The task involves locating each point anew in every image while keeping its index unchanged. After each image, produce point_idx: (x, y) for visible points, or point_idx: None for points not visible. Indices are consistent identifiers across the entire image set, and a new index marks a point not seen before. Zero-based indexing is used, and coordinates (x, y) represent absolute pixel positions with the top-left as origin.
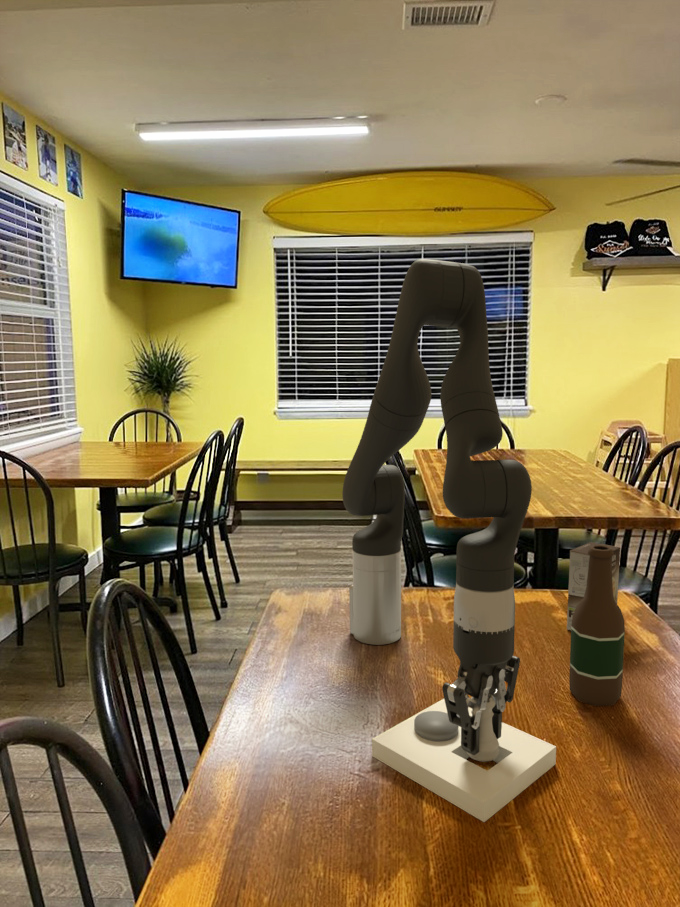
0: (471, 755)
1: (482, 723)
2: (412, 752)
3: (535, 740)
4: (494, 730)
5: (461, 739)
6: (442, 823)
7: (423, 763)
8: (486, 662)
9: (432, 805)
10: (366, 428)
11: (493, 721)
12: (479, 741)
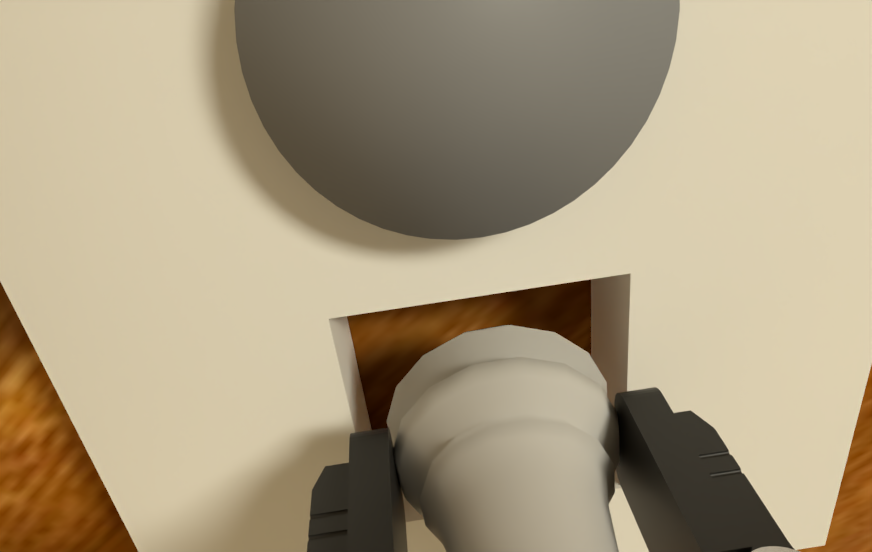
0: (393, 432)
1: None
2: (51, 174)
3: (813, 476)
4: (633, 497)
5: (312, 524)
6: (31, 498)
7: (61, 318)
8: None
9: (51, 403)
10: None
11: (660, 544)
12: (438, 535)
